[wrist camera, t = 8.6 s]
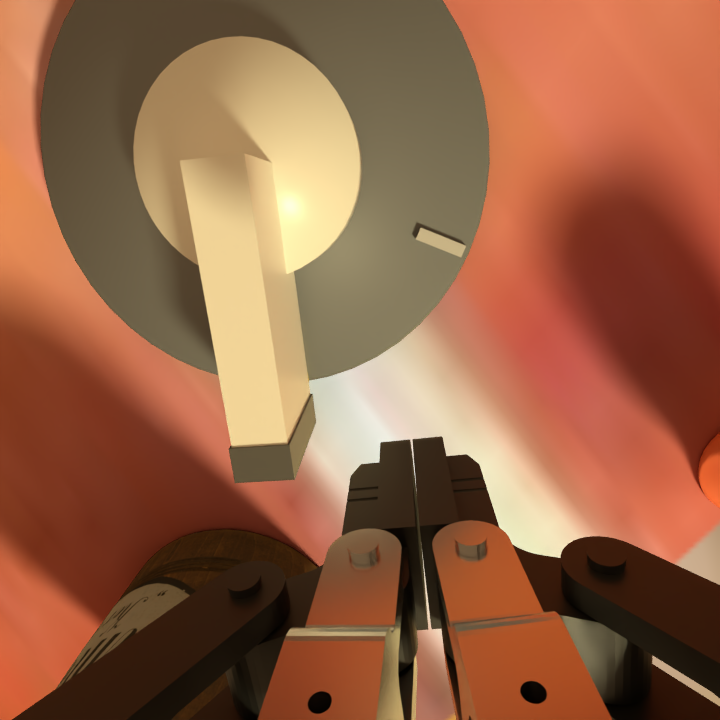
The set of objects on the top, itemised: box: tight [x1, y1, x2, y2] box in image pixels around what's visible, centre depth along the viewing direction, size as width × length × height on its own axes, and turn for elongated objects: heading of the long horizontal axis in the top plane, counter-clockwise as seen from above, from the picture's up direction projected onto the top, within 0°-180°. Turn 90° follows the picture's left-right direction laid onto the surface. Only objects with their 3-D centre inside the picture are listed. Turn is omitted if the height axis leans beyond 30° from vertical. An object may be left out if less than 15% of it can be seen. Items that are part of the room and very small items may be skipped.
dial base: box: [41, 0, 489, 381], centre depth 26 cm, size 22×22×2 cm
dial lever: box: [133, 36, 362, 483], centre depth 23 cm, size 18×10×7 cm, turn 6°
